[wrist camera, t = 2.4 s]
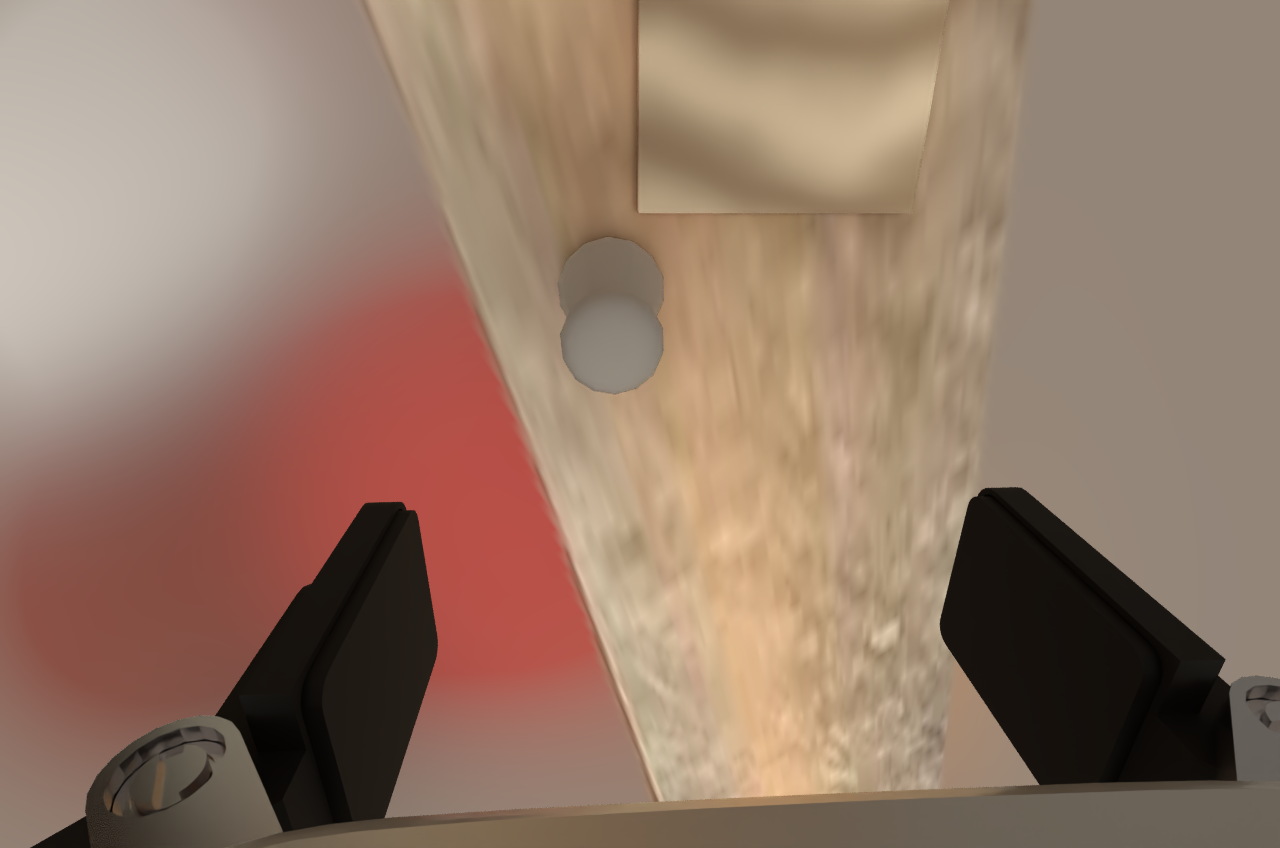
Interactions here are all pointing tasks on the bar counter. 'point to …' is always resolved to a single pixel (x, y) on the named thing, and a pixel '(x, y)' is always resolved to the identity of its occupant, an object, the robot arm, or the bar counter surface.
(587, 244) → the salt shaker
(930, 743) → the bar counter surface
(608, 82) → the bar counter surface
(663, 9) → the serving board
